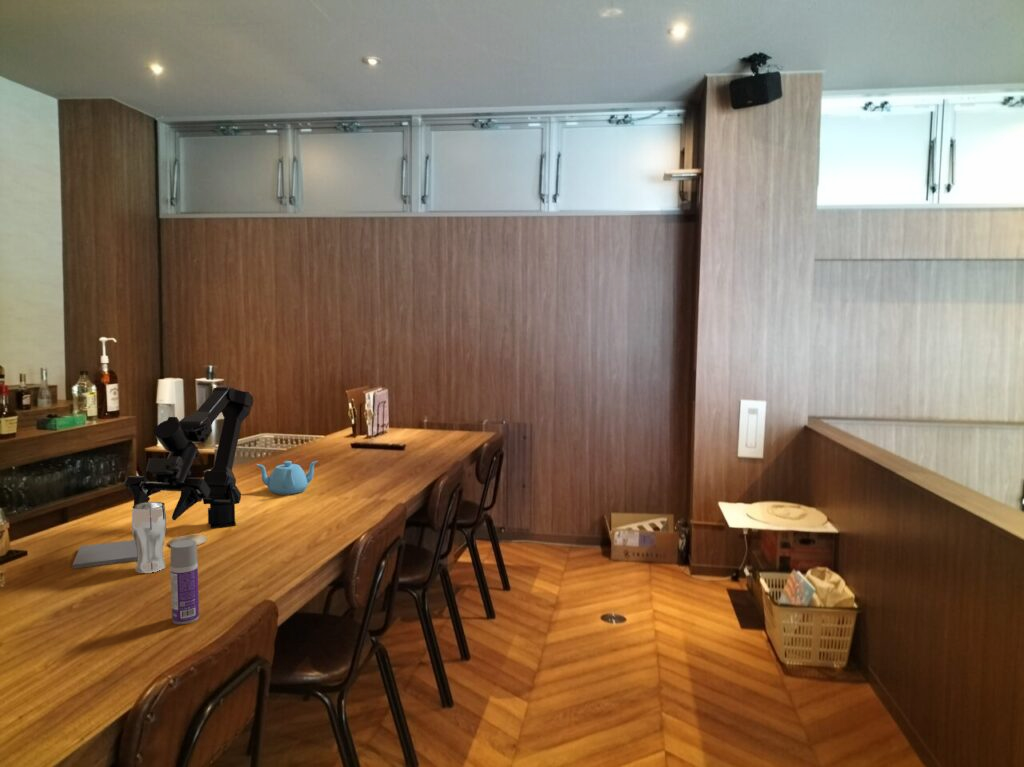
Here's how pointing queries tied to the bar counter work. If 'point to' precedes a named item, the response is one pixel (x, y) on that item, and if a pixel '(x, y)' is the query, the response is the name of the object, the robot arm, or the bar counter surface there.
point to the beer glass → (149, 535)
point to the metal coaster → (198, 538)
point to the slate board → (105, 554)
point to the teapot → (287, 478)
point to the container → (184, 582)
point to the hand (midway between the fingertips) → (154, 518)
